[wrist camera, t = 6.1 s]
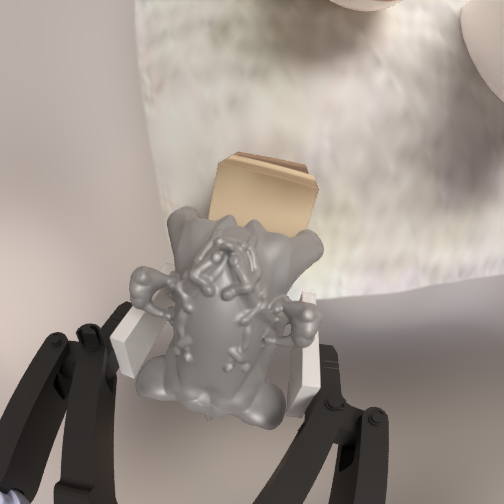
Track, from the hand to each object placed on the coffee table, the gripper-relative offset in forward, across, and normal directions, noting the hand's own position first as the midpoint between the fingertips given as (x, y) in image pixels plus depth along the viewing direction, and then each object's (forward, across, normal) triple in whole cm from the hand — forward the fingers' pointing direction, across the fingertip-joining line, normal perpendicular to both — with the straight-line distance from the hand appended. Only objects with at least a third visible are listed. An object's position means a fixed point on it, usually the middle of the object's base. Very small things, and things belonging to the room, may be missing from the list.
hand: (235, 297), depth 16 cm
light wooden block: (+10, 0, 0) cm, 10 cm away
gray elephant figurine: (0, 0, 0) cm, 1 cm away
